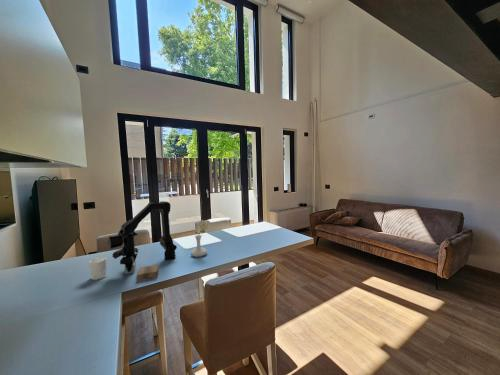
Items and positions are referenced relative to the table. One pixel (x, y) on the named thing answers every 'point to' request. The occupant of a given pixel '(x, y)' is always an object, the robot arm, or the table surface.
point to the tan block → (147, 272)
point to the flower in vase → (199, 250)
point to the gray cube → (131, 268)
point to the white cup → (98, 268)
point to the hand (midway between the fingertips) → (130, 269)
